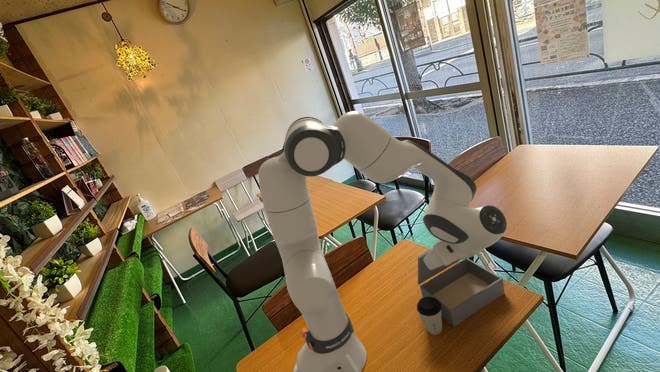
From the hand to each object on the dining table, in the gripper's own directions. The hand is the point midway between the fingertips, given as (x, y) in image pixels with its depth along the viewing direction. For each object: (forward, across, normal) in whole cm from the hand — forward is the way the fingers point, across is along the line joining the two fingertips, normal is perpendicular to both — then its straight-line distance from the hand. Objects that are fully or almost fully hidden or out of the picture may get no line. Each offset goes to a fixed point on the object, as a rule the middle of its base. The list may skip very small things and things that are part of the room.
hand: (446, 254), depth 97 cm
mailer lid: (+2, 0, 0) cm, 2 cm away
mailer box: (+8, 0, +13) cm, 15 cm away
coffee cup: (+5, +14, +16) cm, 22 cm away
